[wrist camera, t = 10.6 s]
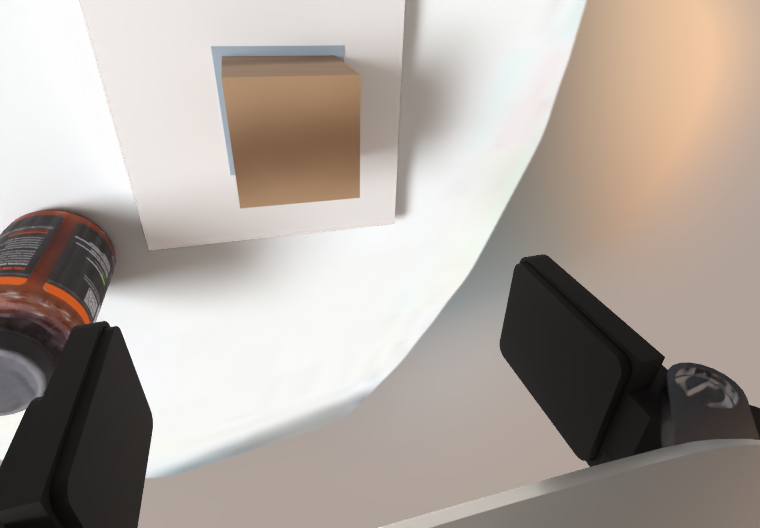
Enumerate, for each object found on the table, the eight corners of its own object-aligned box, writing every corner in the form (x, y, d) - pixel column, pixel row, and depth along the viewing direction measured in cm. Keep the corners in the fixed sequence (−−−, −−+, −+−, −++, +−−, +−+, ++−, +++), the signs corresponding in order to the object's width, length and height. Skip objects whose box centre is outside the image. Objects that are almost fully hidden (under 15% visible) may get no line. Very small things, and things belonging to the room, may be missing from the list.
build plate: (68, -64, 21) (60, -67, 20) (400, -50, 25) (407, -50, 24) (151, 241, 29) (148, 251, 28) (389, 216, 33) (395, 224, 32)
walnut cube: (221, 56, 24) (221, 77, 19) (334, 55, 26) (360, 74, 21) (236, 166, 27) (239, 208, 22) (336, 159, 29) (359, 197, 24)
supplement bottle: (-22, 246, 27) (-151, 389, 18) (55, 186, 26) (-35, 300, 17) (70, 306, 30) (3, 451, 21) (140, 254, 30) (102, 380, 21)
